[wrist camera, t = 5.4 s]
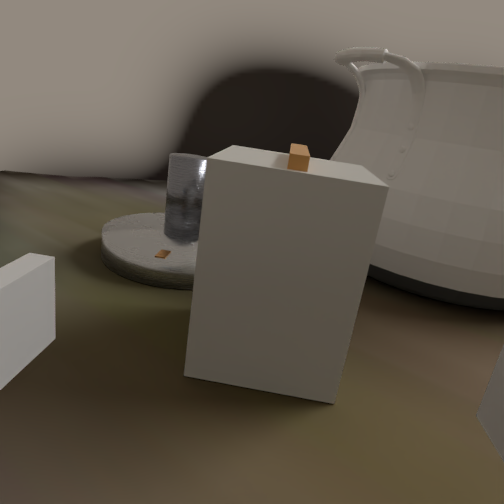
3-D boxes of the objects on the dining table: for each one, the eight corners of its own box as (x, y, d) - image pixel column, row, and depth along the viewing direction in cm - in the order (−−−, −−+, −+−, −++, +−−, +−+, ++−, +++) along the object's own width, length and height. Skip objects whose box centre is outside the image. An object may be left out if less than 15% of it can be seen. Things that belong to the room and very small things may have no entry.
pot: (392, 339, 26) (482, 26, 20) (255, 223, 47) (280, 55, 41) (654, 319, 36) (762, 109, 31) (445, 231, 58) (486, 98, 52)
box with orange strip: (212, 309, 26) (234, 133, 22) (324, 329, 26) (364, 154, 22) (183, 375, 19) (208, 141, 16) (334, 404, 19) (393, 170, 16)
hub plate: (135, 226, 39) (140, 139, 37) (260, 247, 39) (274, 161, 36) (70, 271, 28) (70, 150, 26) (245, 302, 28) (264, 182, 25)
